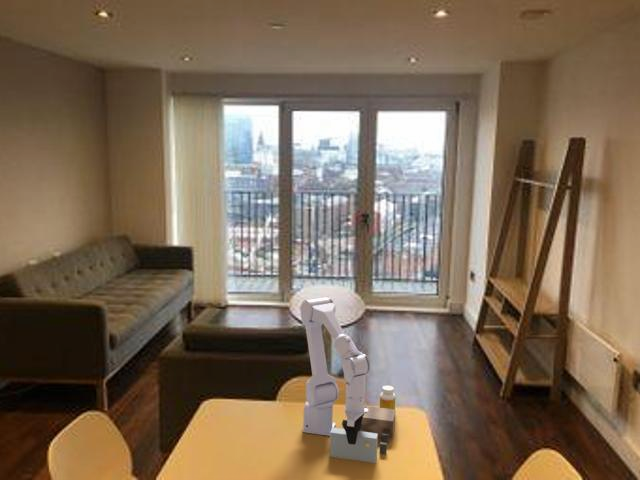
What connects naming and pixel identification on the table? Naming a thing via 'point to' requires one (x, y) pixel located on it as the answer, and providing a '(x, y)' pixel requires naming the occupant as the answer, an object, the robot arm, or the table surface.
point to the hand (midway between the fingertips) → (354, 436)
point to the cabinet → (379, 424)
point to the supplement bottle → (387, 397)
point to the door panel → (354, 446)
